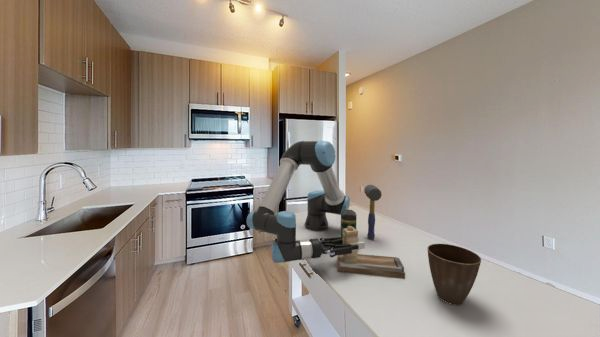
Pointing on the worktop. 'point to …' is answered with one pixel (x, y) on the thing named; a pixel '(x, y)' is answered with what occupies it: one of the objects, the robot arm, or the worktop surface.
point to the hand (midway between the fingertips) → (361, 242)
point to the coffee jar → (348, 220)
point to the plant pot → (453, 271)
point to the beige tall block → (349, 237)
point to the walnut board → (373, 266)
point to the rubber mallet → (372, 207)
